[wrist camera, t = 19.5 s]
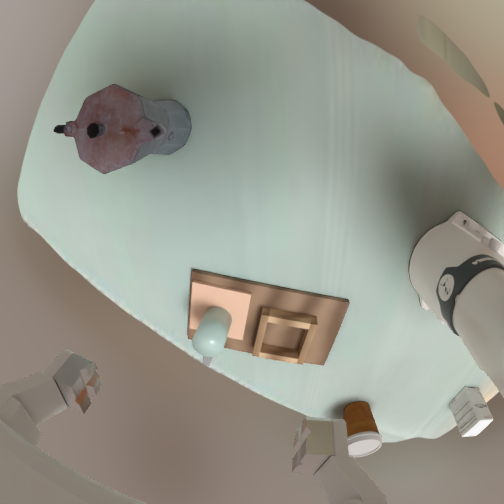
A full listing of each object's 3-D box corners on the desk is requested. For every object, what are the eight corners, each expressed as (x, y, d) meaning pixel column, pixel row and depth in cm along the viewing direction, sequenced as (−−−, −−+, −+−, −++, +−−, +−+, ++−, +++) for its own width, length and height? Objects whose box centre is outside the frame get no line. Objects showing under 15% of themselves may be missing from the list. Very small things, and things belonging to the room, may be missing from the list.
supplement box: (479, 387, 53) (494, 419, 42) (462, 404, 56) (475, 436, 44) (464, 385, 53) (480, 420, 41) (447, 403, 56) (460, 438, 44)
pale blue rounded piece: (227, 344, 52) (218, 372, 45) (201, 338, 52) (189, 364, 45) (233, 310, 49) (225, 337, 42) (205, 303, 49) (193, 328, 42)
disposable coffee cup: (382, 398, 56) (391, 438, 45) (363, 420, 60) (369, 458, 49) (348, 394, 56) (353, 437, 45) (330, 417, 60) (333, 457, 49)
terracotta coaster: (251, 292, 48) (251, 294, 47) (243, 337, 52) (242, 340, 51) (193, 279, 48) (192, 282, 47) (190, 325, 52) (189, 328, 51)
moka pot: (208, 160, 41) (146, 182, 23) (120, 157, 42) (33, 179, 24) (213, 98, 38) (153, 72, 19) (123, 101, 39) (35, 95, 20)
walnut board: (348, 299, 47) (352, 311, 44) (323, 361, 53) (324, 374, 50) (193, 268, 48) (186, 278, 45) (189, 335, 54) (183, 346, 51)
